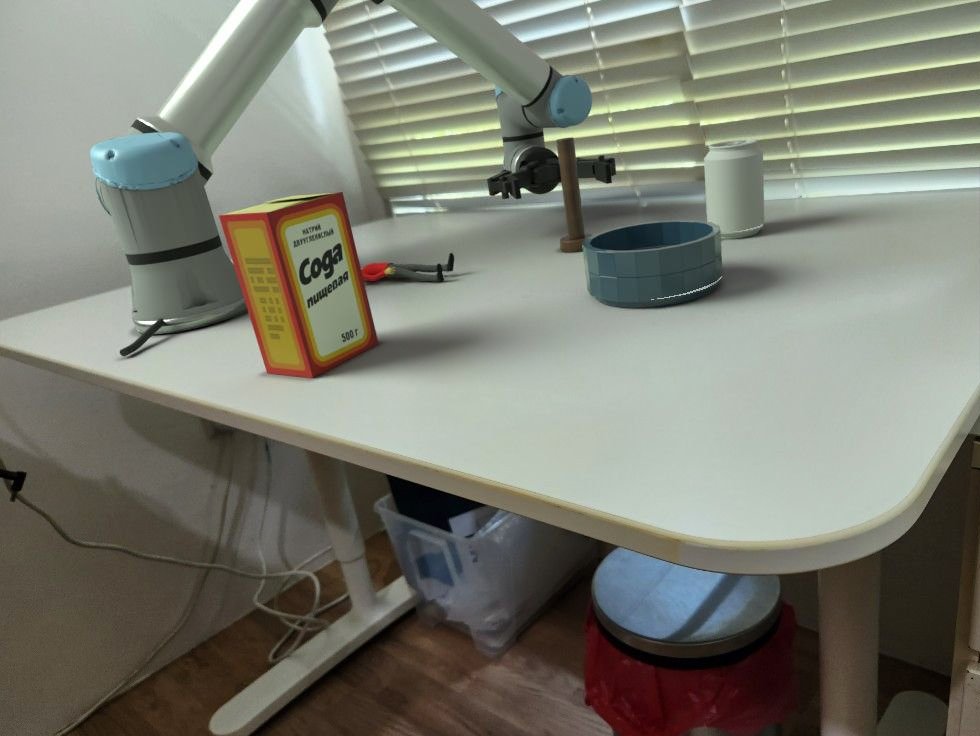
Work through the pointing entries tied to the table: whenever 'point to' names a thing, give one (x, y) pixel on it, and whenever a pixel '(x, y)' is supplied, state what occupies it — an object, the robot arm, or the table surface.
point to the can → (735, 187)
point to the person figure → (407, 271)
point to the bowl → (653, 262)
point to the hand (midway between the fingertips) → (563, 181)
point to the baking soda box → (301, 282)
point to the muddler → (571, 197)
